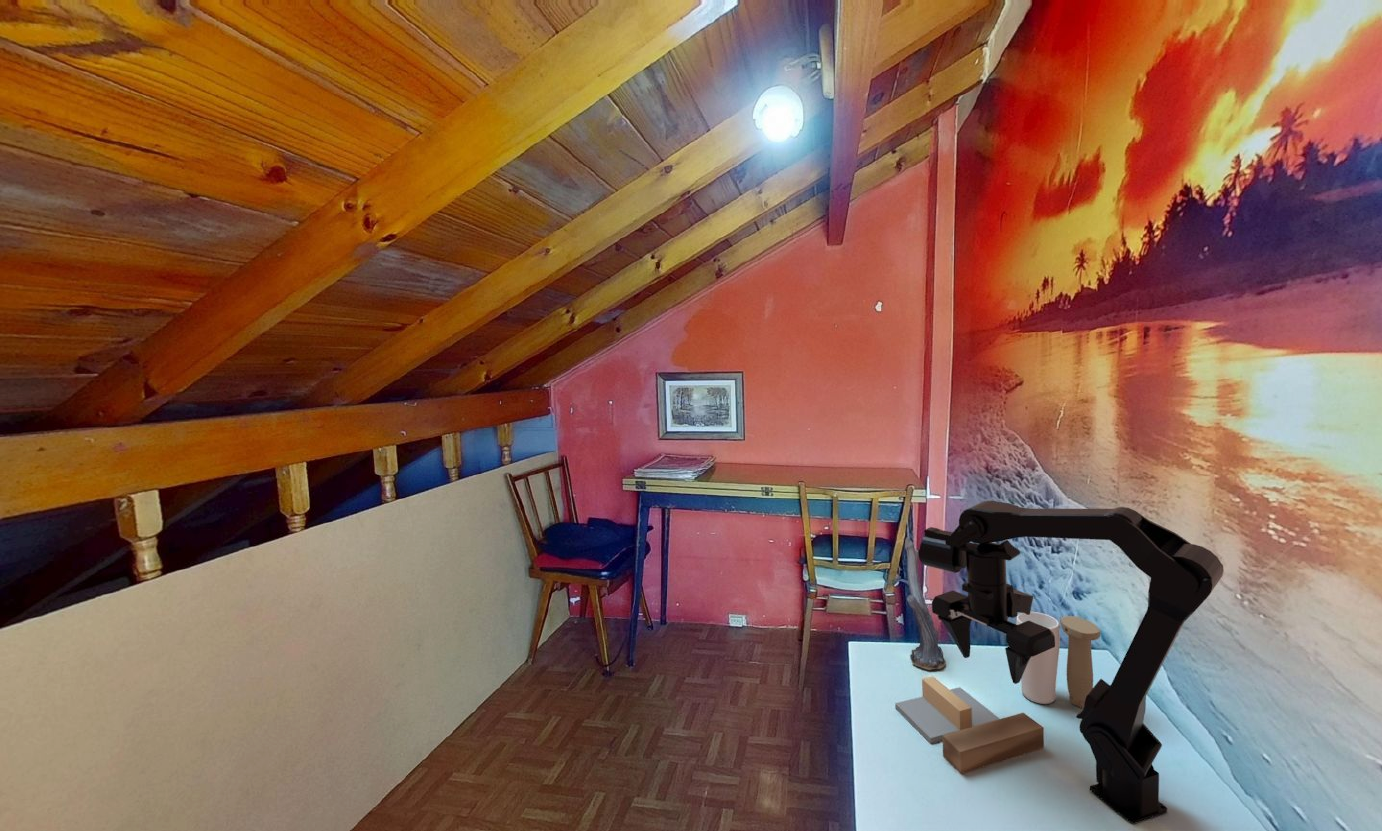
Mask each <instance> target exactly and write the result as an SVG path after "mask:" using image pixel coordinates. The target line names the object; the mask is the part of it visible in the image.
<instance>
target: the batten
mask: <svg viewBox="0 0 1382 831" xmlns="http://www.w3.org/2000/svg"><path fill="white" fill-rule="evenodd" d="M1044 728H1045V727H1044V726H1043V725H1041V724H1040V723H1038V722H1037V721H1035V719H1034V718H1032V717H1031V716H1028V714H1026V713H1025V712H1020V713H1016V714H1014V715H1013V714H1012V715H1010V716H1006V717H1003V718H1000V719H999V720H995V721H992V722H988V723H985V724H981V725H977V726H974V727H970V728H967V729H963V730H960V731H956V732H953V733H949V734H946V735H942V739H943V740H942V757H943V758H944V759H945V761H947V762H948V763H949V764H950V765H951V766H952V767H953V768H954V770H956V771H957V772H958V773H959V775H961V774H965V773H969V772H971V771H974V770H978V769H981V768H985V767H988V766H991V765H994V764H998V763H1001V762H1004V761H1007V760H1011V759H1013V758H1018V757H1020V756H1024V755H1027V754H1031V753H1034V752H1036V751H1040V750H1043V749H1045V748H1044V746H1045V744H1044V742H1045V740H1044V738H1045V734H1044V732H1045V731H1044Z"/></svg>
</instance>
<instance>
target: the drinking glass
mask: <svg viewBox="0 0 1382 831" xmlns="http://www.w3.org/2000/svg"><path fill="white" fill-rule="evenodd" d="M1026 621H1031V622H1033V623H1036V624H1038V625H1041V626H1043V627H1046V628H1048V629H1050V630H1051V631H1052V632H1053V633H1054V636H1055V647H1054V648H1051V649H1049V650H1047V651H1045V652H1042V653H1040V654H1038V655H1036V656H1033V657H1032V656H1031V658H1030V660H1029V662H1028V664H1027V666H1026V668H1025V671H1024V673H1023V675H1022V678H1021V680H1020V682H1021V693H1022V695H1023V696H1024V697H1025V698H1027V700H1029V701H1030V702H1033V703H1036V704H1042V705H1047V704H1052V703H1053V702H1054V701H1055V700H1056V698H1057V697H1056V690H1057V689H1056V687H1057V686H1056V685H1057V676H1058V667H1059V658H1060V657H1059V655H1060V649H1061V648H1060V645H1061V635H1060V621H1058V620H1057V618H1055V617H1053V616H1051V615H1049V614H1046V613H1042V612H1036V611H1030V615H1027V614H1026V613H1020V612H1019V613H1017V617H1016V625H1018V624H1021V623H1023V622H1026Z"/></svg>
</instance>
